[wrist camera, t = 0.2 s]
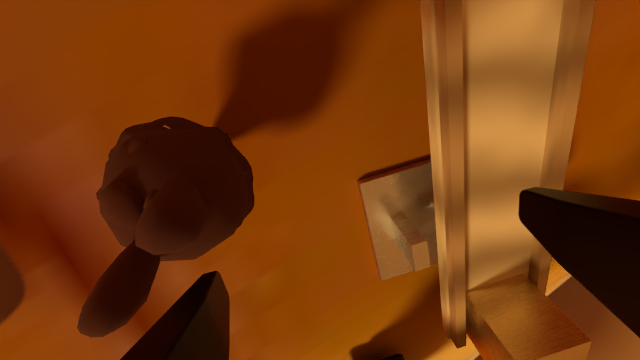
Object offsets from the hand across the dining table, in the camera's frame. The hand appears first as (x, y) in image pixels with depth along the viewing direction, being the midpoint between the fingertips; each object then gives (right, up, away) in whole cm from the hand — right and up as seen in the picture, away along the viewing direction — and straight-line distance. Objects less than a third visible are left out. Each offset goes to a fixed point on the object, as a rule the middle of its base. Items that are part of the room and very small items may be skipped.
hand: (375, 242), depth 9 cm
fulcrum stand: (+10, 0, +19) cm, 22 cm away
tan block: (+13, -9, +17) cm, 23 cm away
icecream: (-10, +4, +14) cm, 18 cm away
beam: (+10, +1, +13) cm, 16 cm away
